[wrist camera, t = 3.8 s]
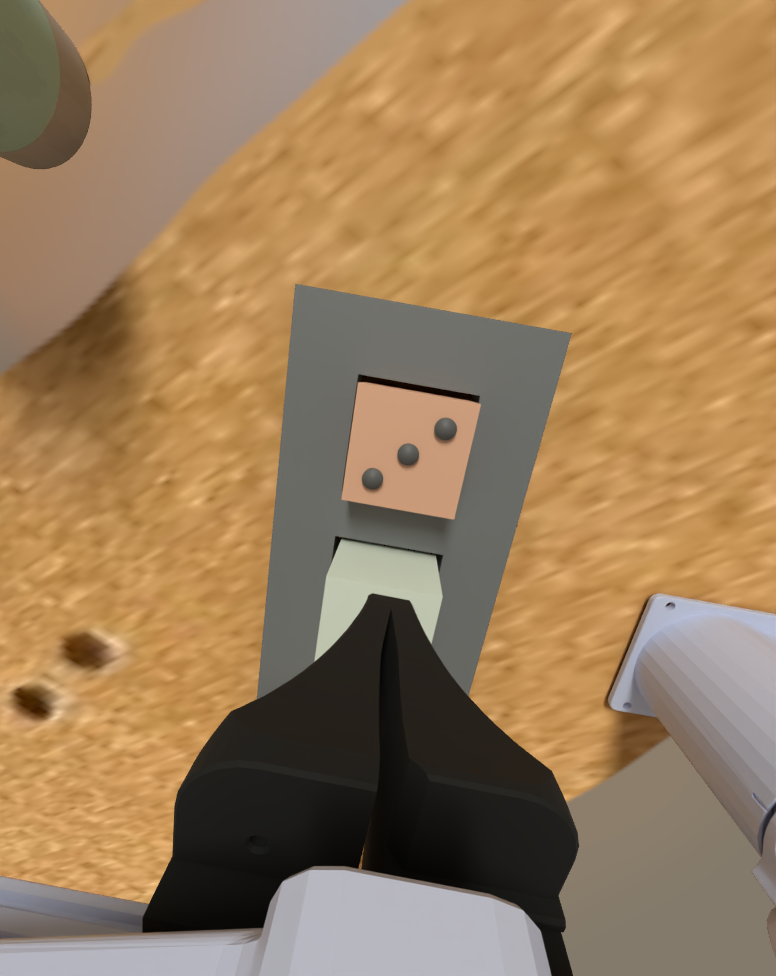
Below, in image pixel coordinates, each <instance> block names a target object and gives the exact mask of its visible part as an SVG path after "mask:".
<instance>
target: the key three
mask: <svg viewBox="0 0 776 976" xmlns="http://www.w3.org/2000/svg"><path fill="white" fill-rule="evenodd" d="M480 407H481V404H479V403H476V402H472V401H469V400H466V399H461V398H455V397H450V396H444V395H439V394H433V393H427V392H422V391H416V390H410V389H405V388H399V387H394V386H388V385H382V384H377V383H371V382H358V387H357V394H356V401H355V408H354V415H353V422H352V429H351V436H350V443H349V449H348V456H347V463H346V470H345V477H344V484H343V491H342V498H341V500H346V501H352V502H357V503H363V504H369V505H374V506H380V507H386V508H391V509H397V510H403V511H408V512H414V513H419V514H425V515H431V516H436V517H442V518H448V519H453V520H454V518H455V514H456V509H457V505H458V501H459V497H460V492H461V488H462V484H463V480H464V475H465V471H466V467H467V463H468V458H469V454H470V450H471V445H472V441H473V437H474V433H475V428H476V424H477V420H478V416H479V411H480Z"/></svg>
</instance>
